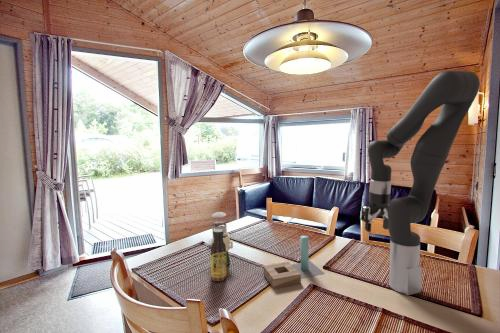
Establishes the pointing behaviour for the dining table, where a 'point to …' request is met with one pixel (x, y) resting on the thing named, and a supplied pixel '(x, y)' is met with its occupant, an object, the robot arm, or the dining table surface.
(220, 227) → the french press
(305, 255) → the peg
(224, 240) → the character mug
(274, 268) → the socket block
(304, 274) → the mat
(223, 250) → the sauce bottle
